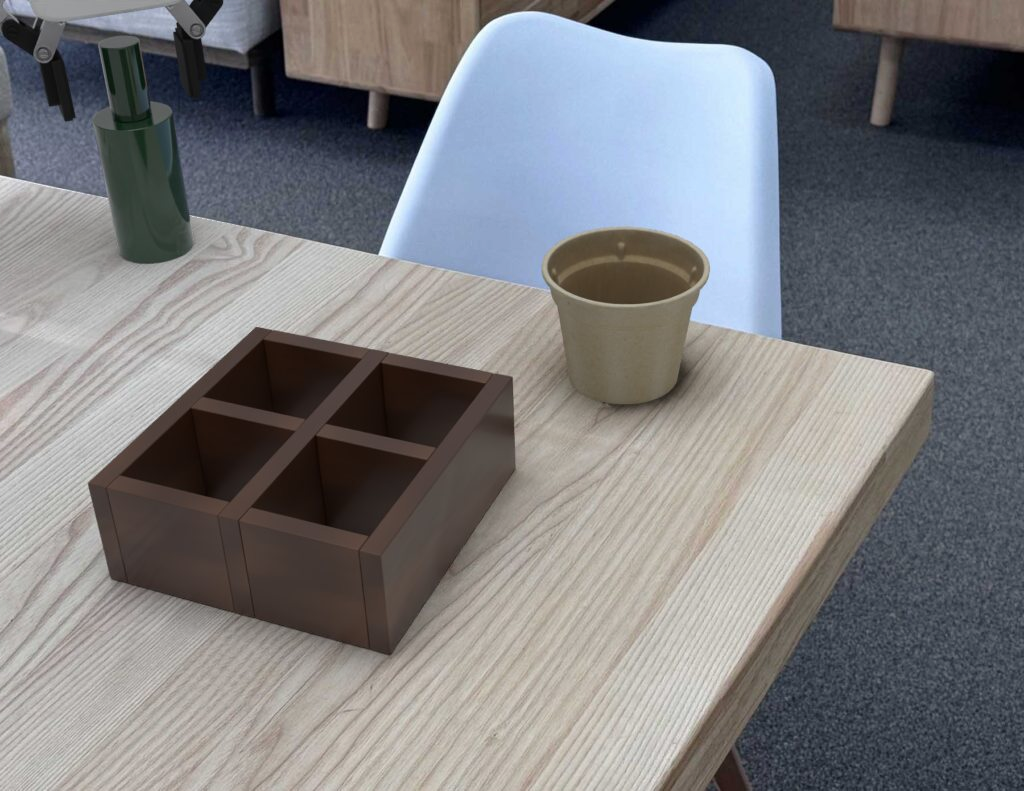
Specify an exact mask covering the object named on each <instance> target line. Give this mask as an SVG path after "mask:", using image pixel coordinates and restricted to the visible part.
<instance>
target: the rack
mask: <svg viewBox="0 0 1024 791" xmlns="http://www.w3.org/2000/svg"><path fill="white" fill-rule="evenodd" d="M515 434H516V433H515V402H514V376H512V375H506V374H502V373H496V372H495V373H494V372H491V371H486V370H481V369H475V368H470V367H465V366H461V365H455V364H450V363H445V362H440V361H435V360H431V359H430V360H429V359H425V358H420V357H414V356H409V355H404V354H399V353H395V352H394V353H393V352H389V351H384V350H381V349H374V348H368V347H363V346H358V345H353V344H348V343H342V342H338V341H332V340H327V339H322V338H317V337H312V336H308V335H302V334H296V333H291V332H286V331H281V330H276V329H271V328H265V327H261V326H255V327H254V328H253V329H252V330H251V331H249V333H247V335H245V336H244V337H243V338H242V339H240V341H239V342H238V343H237V344H235V345H234V346H233V347H232V349H230V350H229V351H228V352H227V353H226V354H224V356H223V357H222V358H221V359H219V361H217V362H216V363H215V364H214V365H213V366H212V367H210V368H209V370H207V371H206V372H205V374H203V375H202V376H201V377H200V378H199V379H198V380H197V381H196V382H195V383H193V384H192V385H191V386H190V387H189V388H188V389H187V390H186V391H184V393H183V394H181V395H180V397H178V398H177V400H175V401H174V402H173V403H172V404H171V405H170V406H169V407H168V408H166V410H164V411H163V412H162V413H161V414H160V415H159V416H157V418H156V419H155V420H154V421H153V422H152V423H150V425H148V426H147V427H146V428H145V429H144V430H143V431H142V432H141V433H140V434H139V435H137V436H136V438H134V439H133V440H132V441H131V442H130V443H129V444H128V445H127V446H126V447H125V448H124V449H122V450H121V451H120V452H119V453H118V454H117V455H116V456H115V457H114V458H113V459H112V460H110V461H109V462H108V463H107V465H105V466H104V467H103V468H102V469H101V470H100V471H99V472H98V473H97V474H95V476H93V477H92V478H91V479H90V480H89V481H88V482H87V488H88V490H89V495H90V499H91V503H92V504H91V505H92V509H93V511H94V512H93V513H94V516H95V521H96V525H97V528H98V532H99V537H100V540H101V545H102V549H103V553H104V558H105V561H106V566H107V570H108V574H109V578H110V579H113V580H115V581H119V582H123V583H128V584H131V585H134V586H137V587H141V588H145V589H147V590H152V591H155V592H159V593H163V594H167V595H171V596H174V597H178V598H181V599H185V600H189V601H193V602H196V603H200V604H202V605H207V606H211V607H214V608H218V609H221V610H225V611H229V612H233V613H235V614H240V615H243V616H247V617H250V618H254V619H255V618H256V619H258V620H262V621H266V622H270V623H273V624H277V625H280V626H284V627H288V628H291V629H295V630H298V631H302V632H305V633H310V634H312V635H317V636H321V637H324V638H328V639H332V640H334V641H339V642H342V643H346V644H350V645H354V646H357V647H361V648H364V649H370V650H372V651H375V652H379V653H383V654H386V655H392V653H393V651H394V650H395V648H396V647H397V645H398V644H399V642H400V641H401V640H402V638H403V636H404V635H405V633H406V632H407V630H408V629H409V628H410V626H411V624H412V623H413V622H414V620H415V619H416V617H417V616H418V614H419V613H420V611H421V610H422V608H423V607H424V605H425V604H426V602H427V600H429V597H430V596H431V595H432V593H433V592H434V590H435V589H436V587H437V586H438V585H439V583H440V581H441V580H442V579H443V577H444V575H445V574H446V572H447V571H448V570H449V568H450V566H451V565H452V563H453V562H454V561H455V559H456V558H457V556H458V554H459V553H460V552H461V550H462V549H463V547H464V545H466V543H467V541H468V540H469V538H470V537H471V535H472V534H473V532H474V530H475V529H476V528H477V527H478V525H479V523H480V522H481V520H482V519H483V517H484V516H485V514H486V513H487V511H488V510H489V508H490V507H491V506H492V504H493V503H494V501H495V499H496V498H497V496H498V495H499V493H500V492H501V490H502V489H503V487H504V486H505V485H506V483H507V481H508V480H509V478H510V477H511V475H512V474H513V473H514V471H515V470H516V467H517V466H516V465H517V463H516V437H515V436H516V435H515Z"/></svg>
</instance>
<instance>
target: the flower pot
mask: <svg viewBox="0 0 1024 791" xmlns="http://www.w3.org/2000/svg"><path fill="white" fill-rule="evenodd" d="M709 260H710V259H709V258H708V256H707V255H706V253H705V252H704V251H703V250H702V249H701V248H700V247H699V246H698V245H695V244H694V243H693V242H692V241H690V240H688V239H686V238H683V237H681V236H679V235H677V234H673V233H670V232H666V231H663V230H657V229H652V228H646V227H638V226H609V227H600V228H599V227H598V228H594V229H590V230H583V231H581V232H578V233H575V234H572V235H569V236H567V237H565V238H563V239H562V240H560V241H558V242H556V243H555V244H554V245H553V246H552V247H551V248H550V249H549V250H548V251H547V252H546V253H545V254H544V256H543V258H542V261H541V276H542V279H543V281H544V283H545V284H546V285H547V286H548V287H549V290H550V296H551V298H552V300H553V302H554V304H555V305H556V308H557V313H558V319H559V324H560V330H561V331H560V332H561V336H562V343H563V348H564V354H565V362H566V367H567V374H568V375H567V376H568V380H569V383H570V385H571V386H572V387H573V388H574V389H575V390H576V391H577V392H579V393H580V394H581V395H583V396H585V397H587V398H589V399H592V400H595V401H596V402H597V401H598V402H602V403H604V404H605V403H607V404H611V405H636V404H643V403H648V402H652V401H654V400H657V399H659V398H661V397H664V396H666V395H667V394H668V393H669V392H670V391H671V390H673V389H674V387H675V386H676V384H677V382H678V378H679V373H680V367H681V362H682V358H683V354H684V349H685V344H686V338H687V334H688V331H689V325H690V322H691V316H692V312H693V308H694V307H695V305H696V304H697V302H698V300H699V297H700V293H701V290H702V289H703V288H704V287H705V285H706V284H707V283H708V280H709V277H710V273H711V272H710V271H711V265H710V261H709Z"/></svg>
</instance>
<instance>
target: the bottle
mask: <svg viewBox="0 0 1024 791" xmlns="http://www.w3.org/2000/svg"><path fill="white" fill-rule="evenodd" d="M97 46H98V51H99V56H100V62H101V67H102V72H103V77H104V82H105V87H106V93H107V97H108V98H107V99H108V103H109V106H108V107H105V108H103V109H101V110H99V111H98V112H96V113H95V114H94V115H93V117H92V119H91V120H92V126H93V132H94V137H95V141H96V147H97V151H98V156H99V161H100V166H101V172H102V176H103V182H104V186H105V190H106V195H107V196H106V197H107V202H108V205H109V211H110V215H111V221H112V226H113V231H114V236H115V240H116V245H117V250H118V254H119V256H120V257H121V258H122V259H124V260H125V261H127V262H129V263H134V264H140V265H141V264H142V265H154V264H161V263H167V262H171V261H175V260H176V259H179V258H182V257H183V256H185V255H186V254H188V253H189V252H190V251H191V250H192V249H193V248H194V245H195V239H194V232H193V226H192V221H191V220H192V219H191V215H190V208H189V202H188V197H187V191H186V185H185V179H184V173H183V168H182V167H183V166H182V160H181V156H180V148H179V143H178V137H177V132H176V131H177V130H176V125H175V120H174V114H173V110H172V108H171V106H169V105H167V104H165V103H162V102H158V101H151V98H150V92H149V87H148V80H147V76H146V75H147V74H146V71H145V64H144V58H143V52H142V47H141V42H140V39H139V38H138V37H136V36H132V35H115V36H111V37H107V38H104V39H102V40H100V41H99V42H98V45H97Z"/></svg>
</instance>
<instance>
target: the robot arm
mask: <svg viewBox="0 0 1024 791" xmlns="http://www.w3.org/2000/svg"><path fill="white" fill-rule="evenodd" d="M5 1H6V0H0V34H1V35H2V36H3V37H4V38H5V39H6V40H7V41H8V42H10V43H12V44H13V45H15V46H16V47H18V48H19V49H21V50H23V51H24V52H25V53H27V54H29V55H30V56H32V57H33V58H34V60H36V61H37V63H38V68H39V71H40V76H41V80H42V85H43V90H44V94H45V98H46V102H47V105H48V107H49V108H52V107H56V106H58V108H59V111H60V113H61V116H62V118H63V120H64V122H65V123H66V122H73V121H74V119H77V117H76V112H75V107H74V102H73V98H72V93H71V87H70V83H69V79H68V75H67V70H66V65H65V61H64V59H63V57H62V55H61V52H60V51H59V49H58V45H59V43H60V40H61V38H62V34H63V32H64V30H65V27H66V24H67V22H73V21H80V20H81V21H82V20H87V19H94V18H100V17H108V16H114V15H123V14H127V13H135V12H142V11H148V10H153V9H160V8H165V9H166V10H167V11H168V13H169V14H170V15H171V16H172V17H173V18H174V20H175V21H176V23H175V26H176V27H174V31H173V32H172V35H173V36H172V37H173V42H174V48H175V54H176V60H177V66H178V71H179V72H178V73H179V78H180V84H181V86H182V88H183V90H184V91H185V93H186V95H188V97H189V98H190V99H192V100H193V101H195V100H201V99H202V91H201V85H200V82H205V81H208V74H207V68H206V62H205V61H206V60H205V55H204V54H205V53H204V48H203V41H202V38H204V36H205V35H206V32H207V28H208V26H209V24H210V23H211V22H212V20H213V19H214V18H215V16H216V15H217V14H218V13H219V11H220V10H221V8H222V7H223V5H224V0H192V1H191V2H190V3H188V2H187V1H186V0H27V1H28V2H29V5H30V7H31V10H32V12H33V13H34V15H35V16H36V17H35V19H34V22H33V24H32V26H30V25H29V24H27V23H26V22H24V21H23V20H21V19H20V18H18V17H17V16H16V15H13V14H12V13H11V12H10V11H9V10H8V9H7V8H6V7H5V6H4V3H5Z"/></svg>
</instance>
